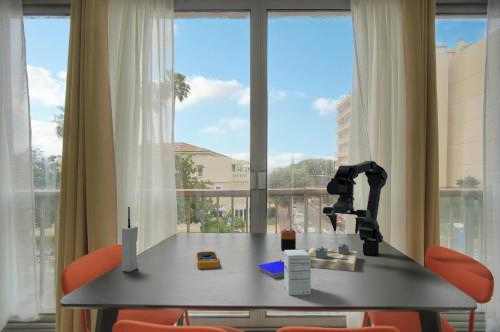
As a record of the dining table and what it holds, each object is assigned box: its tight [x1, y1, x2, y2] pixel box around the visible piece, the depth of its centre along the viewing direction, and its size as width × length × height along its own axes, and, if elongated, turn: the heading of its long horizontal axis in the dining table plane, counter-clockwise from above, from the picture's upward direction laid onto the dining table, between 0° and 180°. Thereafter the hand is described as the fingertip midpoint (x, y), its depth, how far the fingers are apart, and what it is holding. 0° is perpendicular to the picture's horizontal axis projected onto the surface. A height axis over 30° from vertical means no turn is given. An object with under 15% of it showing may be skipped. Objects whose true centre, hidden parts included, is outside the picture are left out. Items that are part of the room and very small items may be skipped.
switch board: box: [307, 247, 358, 272], centre depth 146 cm, size 20×20×3 cm
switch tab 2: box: [338, 242, 350, 254], centre depth 149 cm, size 4×5×4 cm
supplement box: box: [283, 249, 312, 296], centre depth 112 cm, size 7×7×13 cm
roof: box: [256, 259, 284, 279], centre depth 132 cm, size 12×12×5 cm
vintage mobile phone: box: [121, 206, 139, 273], centre depth 136 cm, size 4×5×25 cm
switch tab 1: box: [316, 245, 328, 259], centre depth 142 cm, size 4×5×4 cm
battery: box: [280, 228, 297, 252], centre depth 167 cm, size 4×7×10 cm, turn 91°
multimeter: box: [195, 250, 220, 270], centre depth 146 cm, size 9×18×3 cm, turn 11°
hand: (345, 232), depth 144 cm, fingers open, 9 cm apart
